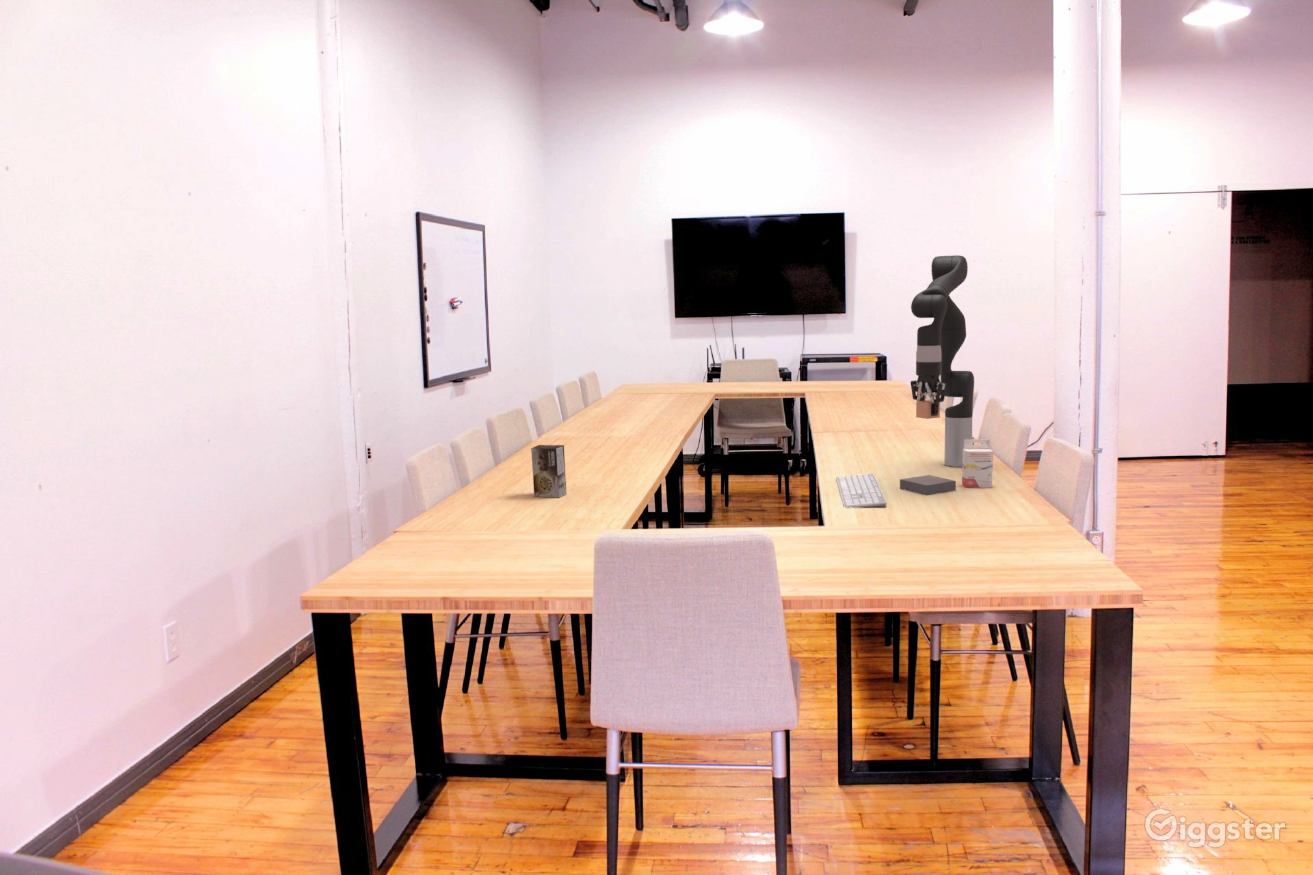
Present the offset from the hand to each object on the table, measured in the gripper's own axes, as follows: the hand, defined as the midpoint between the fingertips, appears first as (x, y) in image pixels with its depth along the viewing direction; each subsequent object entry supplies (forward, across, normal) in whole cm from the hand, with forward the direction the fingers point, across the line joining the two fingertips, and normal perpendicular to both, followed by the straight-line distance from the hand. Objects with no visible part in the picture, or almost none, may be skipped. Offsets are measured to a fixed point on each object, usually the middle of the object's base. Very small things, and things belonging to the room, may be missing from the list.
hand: (927, 414), depth 315 cm
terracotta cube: (+1, 0, 0) cm, 1 cm away
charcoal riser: (+24, 0, 0) cm, 24 cm away
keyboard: (+25, +9, +19) cm, 33 cm away
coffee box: (+24, +63, +102) cm, 122 cm away
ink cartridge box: (+24, -5, -16) cm, 29 cm away
